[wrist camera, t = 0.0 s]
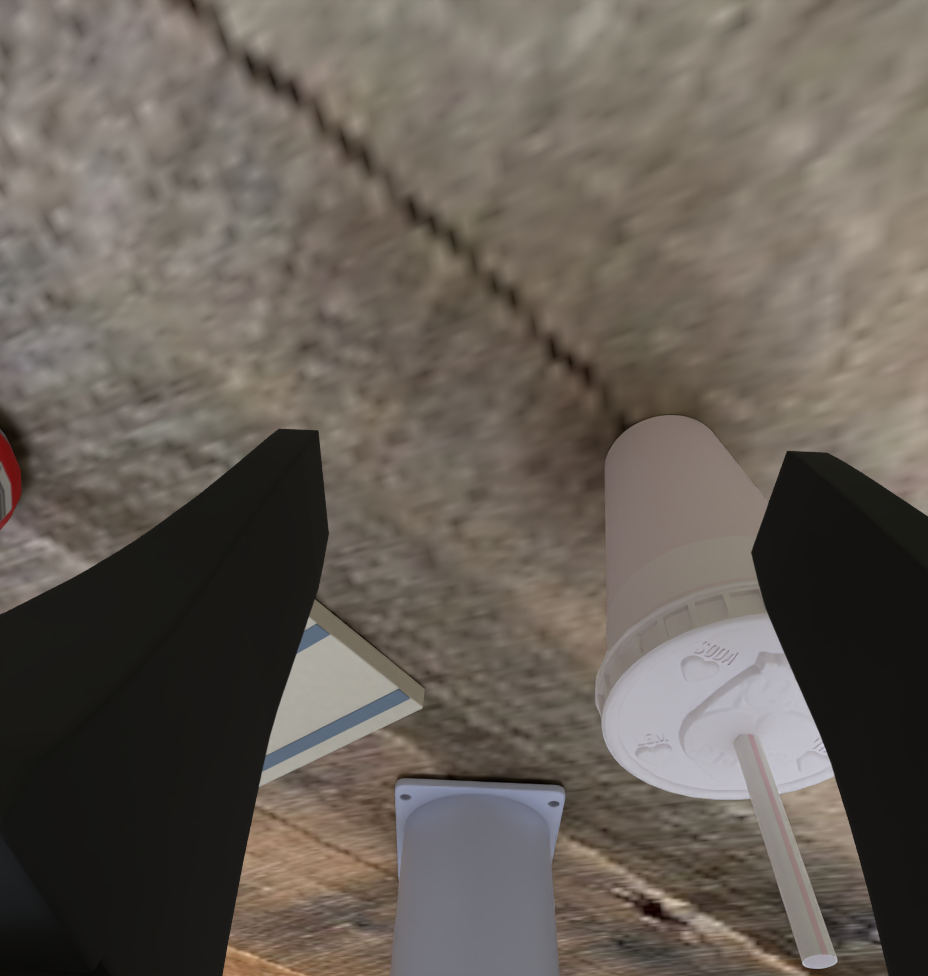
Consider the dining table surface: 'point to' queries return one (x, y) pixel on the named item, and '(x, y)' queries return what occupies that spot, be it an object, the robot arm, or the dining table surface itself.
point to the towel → (335, 695)
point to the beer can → (8, 480)
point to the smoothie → (703, 647)
